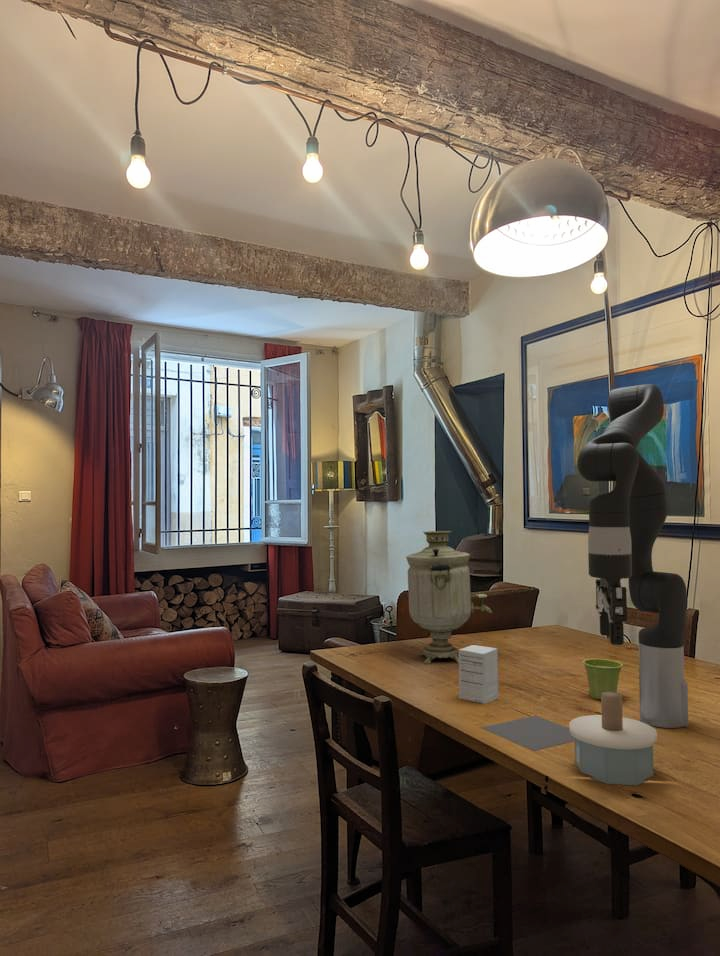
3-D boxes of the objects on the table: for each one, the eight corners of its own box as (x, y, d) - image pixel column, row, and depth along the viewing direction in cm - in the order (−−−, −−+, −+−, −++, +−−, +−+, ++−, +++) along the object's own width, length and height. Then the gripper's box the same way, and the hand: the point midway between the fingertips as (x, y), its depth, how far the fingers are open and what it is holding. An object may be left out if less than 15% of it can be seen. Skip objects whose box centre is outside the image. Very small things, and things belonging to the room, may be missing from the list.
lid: (644, 723, 130) (643, 685, 130) (667, 751, 115) (667, 708, 116) (563, 719, 132) (563, 682, 133) (576, 747, 118) (576, 705, 118)
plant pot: (610, 691, 175) (609, 657, 176) (630, 702, 166) (630, 666, 166) (576, 693, 174) (576, 659, 174) (595, 704, 165) (595, 668, 165)
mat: (535, 717, 154) (535, 715, 154) (591, 738, 140) (591, 736, 140) (480, 729, 146) (480, 727, 146) (534, 753, 132) (533, 750, 132)
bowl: (640, 759, 129) (639, 724, 129) (659, 786, 116) (659, 748, 117) (571, 755, 131) (571, 721, 131) (583, 782, 118) (583, 745, 119)
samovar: (483, 674, 193) (482, 534, 194) (395, 667, 201) (394, 533, 203) (497, 652, 221) (496, 530, 223) (419, 647, 229) (418, 529, 231)
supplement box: (473, 693, 174) (472, 644, 174) (499, 699, 169) (498, 648, 169) (458, 700, 168) (457, 649, 168) (484, 706, 163) (484, 653, 164)
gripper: (641, 554, 117) (643, 648, 117) (621, 548, 132) (623, 632, 131) (596, 554, 119) (598, 647, 118) (581, 548, 133) (583, 631, 132)
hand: (611, 639), depth 124 cm, fingers open, 8 cm apart
